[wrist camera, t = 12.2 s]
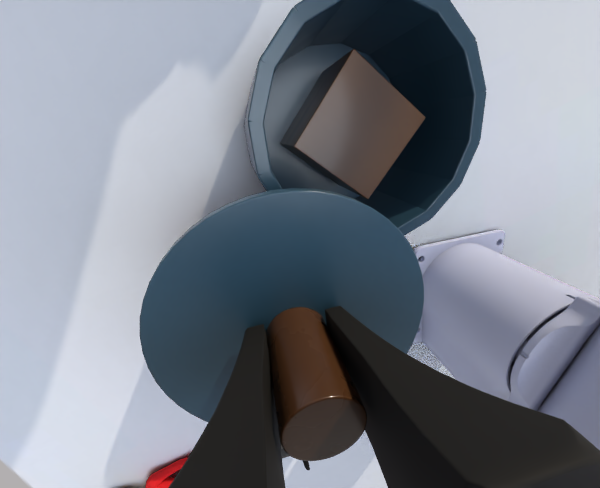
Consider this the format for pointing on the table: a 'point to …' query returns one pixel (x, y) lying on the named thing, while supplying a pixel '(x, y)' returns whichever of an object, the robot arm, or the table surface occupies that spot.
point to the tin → (395, 69)
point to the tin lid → (281, 307)
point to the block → (353, 125)
